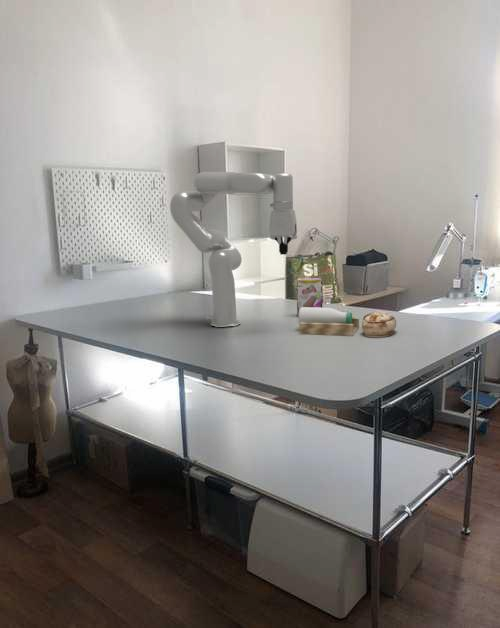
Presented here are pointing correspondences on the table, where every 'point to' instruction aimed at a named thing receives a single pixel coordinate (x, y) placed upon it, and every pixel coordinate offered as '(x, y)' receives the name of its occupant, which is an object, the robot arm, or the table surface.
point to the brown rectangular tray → (330, 328)
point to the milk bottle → (323, 315)
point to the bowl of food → (378, 324)
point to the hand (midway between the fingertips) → (283, 254)
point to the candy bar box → (309, 293)
